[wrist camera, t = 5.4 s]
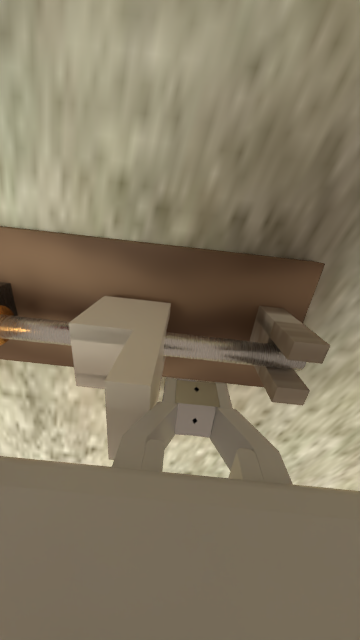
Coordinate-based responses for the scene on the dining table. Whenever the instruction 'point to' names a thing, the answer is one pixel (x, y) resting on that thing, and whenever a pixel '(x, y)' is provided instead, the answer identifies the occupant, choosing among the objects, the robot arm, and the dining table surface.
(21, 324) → the rod
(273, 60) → the dining table surface
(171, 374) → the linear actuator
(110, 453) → the sleeve
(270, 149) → the dining table surface
